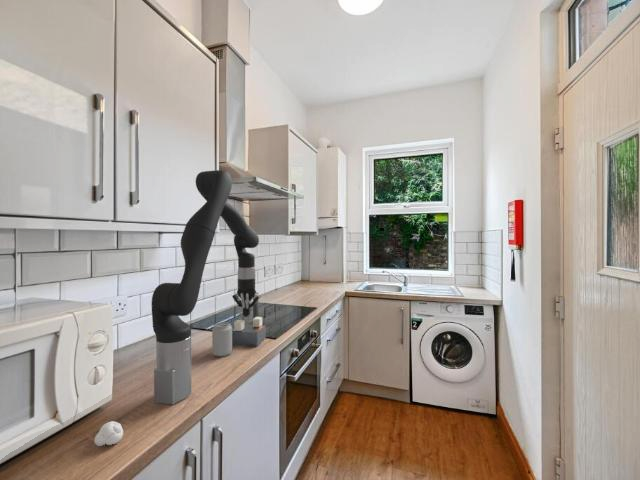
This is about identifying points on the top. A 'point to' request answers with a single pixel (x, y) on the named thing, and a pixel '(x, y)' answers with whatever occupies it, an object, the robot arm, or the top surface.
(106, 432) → the microfossil shell
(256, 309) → the post
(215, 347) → the can
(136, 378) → the top surface
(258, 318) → the toggle far
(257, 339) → the grey storage bin
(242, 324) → the toggle near
